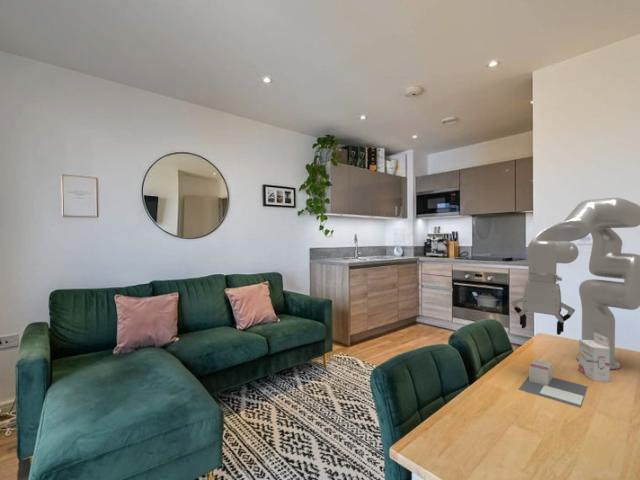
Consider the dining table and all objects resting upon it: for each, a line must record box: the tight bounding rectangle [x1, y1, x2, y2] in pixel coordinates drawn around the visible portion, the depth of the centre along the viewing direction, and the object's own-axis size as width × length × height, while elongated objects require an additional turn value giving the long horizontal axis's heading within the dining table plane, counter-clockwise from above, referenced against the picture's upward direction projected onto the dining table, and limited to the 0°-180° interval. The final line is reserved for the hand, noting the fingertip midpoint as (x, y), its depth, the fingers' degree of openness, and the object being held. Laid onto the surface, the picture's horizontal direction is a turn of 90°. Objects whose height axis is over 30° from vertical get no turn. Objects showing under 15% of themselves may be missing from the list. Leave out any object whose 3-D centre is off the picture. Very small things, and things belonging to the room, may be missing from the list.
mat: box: [518, 375, 588, 409], centre depth 99 cm, size 18×15×1 cm
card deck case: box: [528, 359, 553, 386], centre depth 105 cm, size 8×5×5 cm, turn 135°
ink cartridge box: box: [578, 332, 610, 383], centre depth 108 cm, size 9×5×15 cm, turn 168°
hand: (540, 330), depth 105 cm, fingers open, 9 cm apart
